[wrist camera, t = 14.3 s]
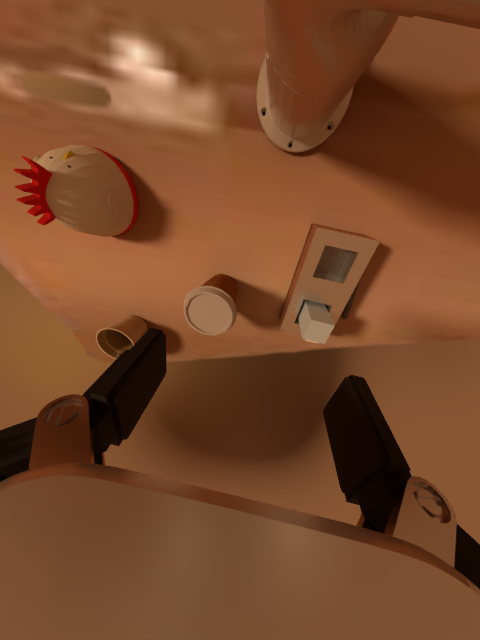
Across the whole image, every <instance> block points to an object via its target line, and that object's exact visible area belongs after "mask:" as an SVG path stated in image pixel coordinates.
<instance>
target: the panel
mask: <svg viewBox="0 0 480 640" xmlns="http://www.w3.org/2000/svg"><path fill="white" fill-rule="evenodd" d="M379 242H380V241H378V240H376V239H374V238H371V237H369V236H366V235H361V234H357V233H352V232H348V231H344V230H339V229H335V228H330V227H326V226H321V225H317V224H311V227H310V230H309V233H308V236H307V239H306V242H305V245H304V248H303V250H302V253H301V256H300V259H299V262H298V265H297V268H296V271H295V274H294V276H293V279H292V282H291V285H290V288H289V291H288V294H287V297H286V300H285V302H284V305H283V308H282V311H281V314H280V317H279V319H280V330H284V331H289V332H293V333H297V334H301V330H300V325H299V320H298V312H299V310H300V307H301V305H302V302H303V300H309V301H313V302H317V303H322V304H325V306H326V308H327V311H328V313H329V315H330V317H331V319H332V321H333V323H334V325H336V323H337V321H338V319H339V317H340V315H341V313H342V311H343V310H344V308H345V306H346V304H347V302H348V300H349V298H350V297H351V295H352V293H353V291H354V289H355V287H356V285H357V284H358V282H359V280H360V278H361V276H362V274H363V272H364V270H365V269H366V267H367V265H368V263H369V261H370V259H371V257H372V256H373V254H374V252H375V250H376V248H377V246H378V244H379ZM330 334H331V333H330ZM329 336H330V335H329ZM328 338H329V337H328Z"/></svg>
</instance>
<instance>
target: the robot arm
mask: <svg viewBox="0 0 480 640" xmlns="http://www.w3.org/2000/svg"><path fill="white" fill-rule="evenodd" d="M263 5H264V23H265V47H266V55H265V58H264V61H263V63H262V66H261V69H260V73H259V78H258V83H257V94H256V95H257V110H258V116H259V120H260V123H261V126H262V128H263V130H264V133H265V134H266V136H267V137H268V139H269V140H270V141H271V142H272V143H273V144H274V145H275V146H276V147H278V148H279V149H281V150H283V151H286V152H290V153H301V152H306V151H308V150H311V149H313V148H315V147H317V146H318V145H320V144H321V143H322V142H324V141H325V140H326V139H327V138H328V137H329V136H330V135H331V134H332V133H333V132H334V130H335V129H336V128H337V126H338V125H339V123H340V122H341V120H342V118H343V116H344V114H345V112H346V110H347V108H348V106H349V103H350V100H351V97H352V93H353V88H354V84H355V83H356V82H357V80H358V79H359V78H360V76H361V75H362V74H363V72H364V71H365V70H366V68H367V67H368V65H369V64H370V63H371V61H372V60H373V59H374V57H375V56H376V54H377V53H378V51H379V50H380V49H381V47H382V46H383V44H384V43H385V41H386V39H387V38H388V36H389V34H390V33H391V31H392V29H393V27H394V25H395V23H396V22H397V19H398V17H399V15H400V16H405V17H414V16H418V17H423V18H428V19H433V20H438V21H442V22H447V23H452V24H457V25H462V26H467V27H472V28H476V29H480V0H263ZM263 112H265V113H266V114H265V116H263V115H262V113H263ZM328 126H330V127H331V128H330V130H328V129H327V127H328ZM290 143H291V144H292V147H289V144H290ZM165 374H166V335H165V334H163V331H162V330H158V329H154V328H150V329H148V330H147V332H146V333H145V334H144V335H143V336H142V337H141V338H140V339H139V340H138V341H137V342H136V343H135V345H134V346H133V347H132V348H131V349H130V350H125V351H124V352H123V353H122V354H121V355H120V356H119V357H118V358H117V359H116V360H115V361H114V362H113V364H112V365H111V366H110V367H109V368H108V369H107V370H106V371H105V372H104V373H103V374H102V375H101V376H100V377H99V379H98V380H97V381H96V382H95V383H94V384H93V385H92V386H91V387H90V388H89V389H88V390H87V391H86V392H85V393H84V394H83V395H82V396H81V395H78V394H71V395H66V396H62V397H59V398H57V399H55V400H53V401H52V402H50V403H48V404H47V405H46V406H45V407H44V408H43V409H42V410H41V411H40V413H39V414H38V416H37V418H34V419H31V420H28V421H26V422H23V423H20V424H17V425H14V426H11V427H8V428H6V429H3V430H0V640H480V545H479V544H478V543H477V542H476V541H475V540H474V539H473V538H472V537H471V536H470V535H469V534H467V533H466V532H465V531H464V530H463V529H462V528H461V527H460V526H459V525H457V521H456V515H455V513H454V510H453V508H452V506H451V505H450V503H449V502H448V500H447V499H446V498H445V496H444V495H443V494H442V493H441V492H440V491H439V490H438V489H437V488H436V487H435V486H434V485H433V484H431V483H430V482H428V481H427V480H425V479H423V478H421V477H416V476H413V477H412V476H411V474H410V472H409V471H410V468H409V466H408V464H407V462H406V460H405V458H404V456H403V454H402V452H401V450H400V448H399V446H398V444H397V442H396V440H395V438H394V436H393V434H392V432H391V430H390V428H389V426H388V424H387V422H386V420H385V418H384V416H383V415H382V412H381V410H380V408H379V406H378V404H377V402H376V400H375V398H374V396H373V394H372V393H371V390H370V388H369V386H368V384H367V382H366V380H365V379H364V378H362V377H358V376H354V375H350V376H349V377H345V378H344V380H343V381H342V383H341V384H340V386H339V387H338V389H337V390H336V392H335V393H334V395H333V396H332V397H331V399H330V400H329V402H328V403H327V405H326V406H325V408H324V410H323V415H324V419H325V424H326V428H327V433H328V437H329V441H330V445H331V450H332V454H333V458H334V463H335V466H336V471H337V475H338V480H339V484H340V488H341V490H342V492H343V493H345V497H346V501H347V502H350V503H353V504H358V505H360V508H361V512H362V513H361V516H360V518H359V521H358V523H357V526H354V525H350V524H347V523H343V522H339V521H335V520H331V519H327V518H323V517H319V516H315V515H311V514H307V513H303V512H299V511H296V510H292V509H288V508H284V507H279V506H275V505H271V504H267V503H263V502H259V501H255V500H251V499H247V498H243V497H239V496H235V495H231V494H227V493H223V492H219V491H215V490H211V489H206V488H203V487H198V486H194V485H190V484H186V483H182V482H178V481H174V480H169V479H165V478H161V477H157V476H153V475H148V474H144V473H139V472H135V471H130V470H126V469H121V468H117V467H111V466H106V465H105V457H104V452H105V451H107V449H108V447H109V445H110V444H113V445H117V446H119V445H120V444H121V442H122V440H123V439H127V438H128V437H129V435H130V434H131V432H132V430H133V429H134V427H135V425H136V424H137V422H138V420H139V419H140V417H141V415H142V414H143V412H144V410H145V408H146V407H147V405H148V404H149V402H150V400H151V398H152V397H153V395H154V393H155V392H156V390H157V388H158V387H159V385H160V383H161V382H162V380H163V378H164V377H165Z"/></svg>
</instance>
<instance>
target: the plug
mask: <svg viewBox="0 0 480 640" xmlns="http://www.w3.org/2000/svg"><path fill="white" fill-rule="evenodd" d="M298 320H299V325H300V330H301V335H302V339H305V341H309V342H313V343H317V344H318V343H322V344H325V342H326V340H327V339H328V337H329V335H330V333H331V332H332V330H333V328H334V326H335V325H334V323H333V321H332V319H331V317H330V315H329V313H328V311H327V308H326V306H325V304H322V303H317V302H313V301H309V300H303V302H302V305H301V307H300V310H299V312H298Z"/></svg>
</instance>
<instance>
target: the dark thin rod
mask: <svg viewBox="0 0 480 640" xmlns="http://www.w3.org/2000/svg"><path fill="white" fill-rule="evenodd" d="M359 281H360V280H359ZM358 284H359V282H358ZM358 284H357V285H356V287H355V289H354V291H353V293H352V295H351V297H350V298H349V300H348V302H347V304H346V306H345V309H344V312H343V315H342V318H343V319H346V318H347V316H348V313H349V310H350V307H351V304H352V301H353V299H354V296H355V293H356V290H357V287H358Z"/></svg>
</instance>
